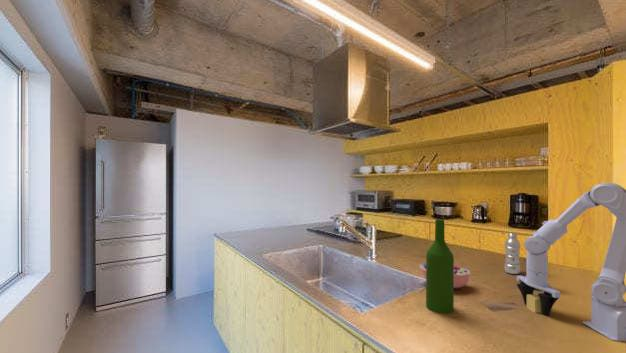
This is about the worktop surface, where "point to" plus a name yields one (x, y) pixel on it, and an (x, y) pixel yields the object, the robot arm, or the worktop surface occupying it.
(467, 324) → the worktop surface
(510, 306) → the walnut base
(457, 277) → the cell model
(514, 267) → the plastic bottle
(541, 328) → the worktop surface
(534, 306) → the ochre block
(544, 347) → the worktop surface
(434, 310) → the wine bottle
